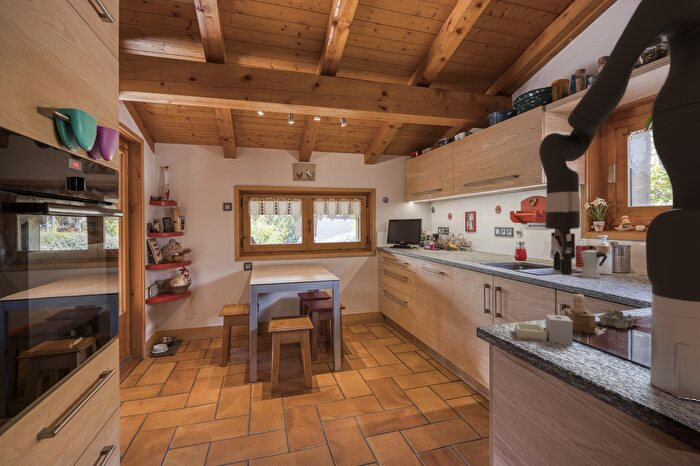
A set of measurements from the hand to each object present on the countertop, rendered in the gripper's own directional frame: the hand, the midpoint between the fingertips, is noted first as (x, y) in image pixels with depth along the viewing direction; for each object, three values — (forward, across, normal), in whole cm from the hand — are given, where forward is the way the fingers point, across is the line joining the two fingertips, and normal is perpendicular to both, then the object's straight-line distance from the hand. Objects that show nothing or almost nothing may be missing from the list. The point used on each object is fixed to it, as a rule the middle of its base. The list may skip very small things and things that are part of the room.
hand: (562, 272), depth 83 cm
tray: (+18, -1, -7) cm, 19 cm away
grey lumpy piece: (+18, -22, +19) cm, 34 cm away
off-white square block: (+18, 0, -1) cm, 18 cm away
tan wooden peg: (+18, -12, +6) cm, 22 cm away
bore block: (+18, -12, +6) cm, 22 cm away
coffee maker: (+17, -119, +38) cm, 126 cm away
